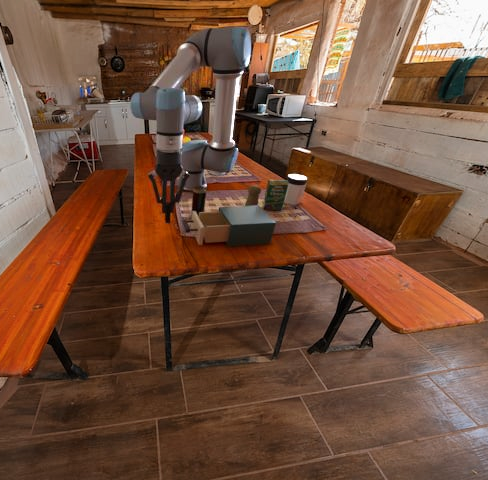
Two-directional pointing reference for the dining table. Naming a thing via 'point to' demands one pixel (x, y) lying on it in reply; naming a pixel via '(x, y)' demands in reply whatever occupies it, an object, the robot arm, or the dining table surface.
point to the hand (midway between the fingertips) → (167, 221)
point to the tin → (198, 199)
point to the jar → (295, 189)
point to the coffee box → (275, 194)
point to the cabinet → (248, 225)
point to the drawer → (208, 227)
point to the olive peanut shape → (253, 195)
